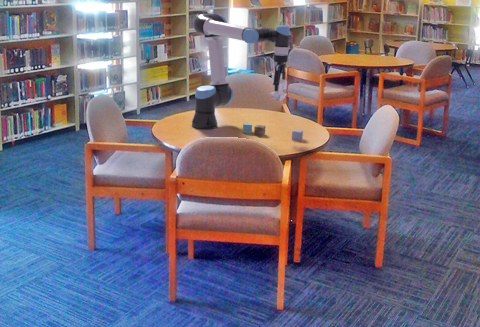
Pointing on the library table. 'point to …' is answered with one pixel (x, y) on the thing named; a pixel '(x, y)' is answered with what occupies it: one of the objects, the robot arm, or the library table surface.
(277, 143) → the library table surface
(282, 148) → the library table surface
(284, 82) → the figurine
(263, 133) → the walnut block
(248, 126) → the dusty-teal block
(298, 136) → the slate-grey block
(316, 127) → the library table surface
